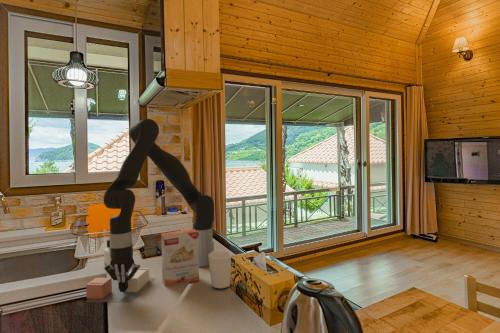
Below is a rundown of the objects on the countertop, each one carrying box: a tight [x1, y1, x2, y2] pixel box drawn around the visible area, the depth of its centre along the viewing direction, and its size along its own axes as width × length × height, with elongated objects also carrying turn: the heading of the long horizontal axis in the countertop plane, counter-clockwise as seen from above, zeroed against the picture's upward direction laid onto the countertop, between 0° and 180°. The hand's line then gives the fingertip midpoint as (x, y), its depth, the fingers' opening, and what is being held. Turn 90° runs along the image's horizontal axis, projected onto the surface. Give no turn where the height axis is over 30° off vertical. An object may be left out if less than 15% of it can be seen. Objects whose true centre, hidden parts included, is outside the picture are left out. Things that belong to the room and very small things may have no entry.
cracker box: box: [160, 228, 200, 287], centre depth 118 cm, size 14×6×21 cm, turn 118°
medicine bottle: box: [103, 238, 111, 266], centre depth 142 cm, size 7×7×12 cm
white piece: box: [86, 267, 157, 304], centre depth 112 cm, size 17×20×6 cm
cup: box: [208, 250, 234, 291], centre depth 115 cm, size 10×10×13 cm
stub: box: [85, 277, 113, 299], centre depth 107 cm, size 6×6×5 cm
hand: (123, 290), depth 106 cm, fingers closed
